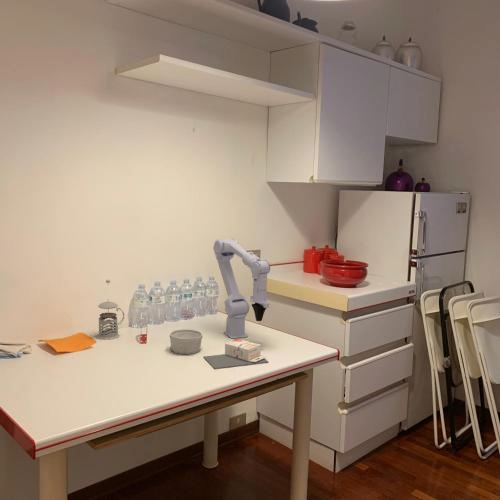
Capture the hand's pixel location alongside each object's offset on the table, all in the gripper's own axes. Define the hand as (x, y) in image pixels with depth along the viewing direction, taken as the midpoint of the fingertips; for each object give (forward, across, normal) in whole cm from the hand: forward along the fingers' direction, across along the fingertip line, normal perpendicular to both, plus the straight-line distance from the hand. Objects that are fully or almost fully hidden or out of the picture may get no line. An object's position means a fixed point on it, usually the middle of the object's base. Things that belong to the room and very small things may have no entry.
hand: (258, 320), depth 214 cm
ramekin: (+11, -2, -31) cm, 33 cm away
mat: (+11, +14, -16) cm, 24 cm away
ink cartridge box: (+8, +6, -15) cm, 18 cm away
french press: (+10, -30, -57) cm, 65 cm away
